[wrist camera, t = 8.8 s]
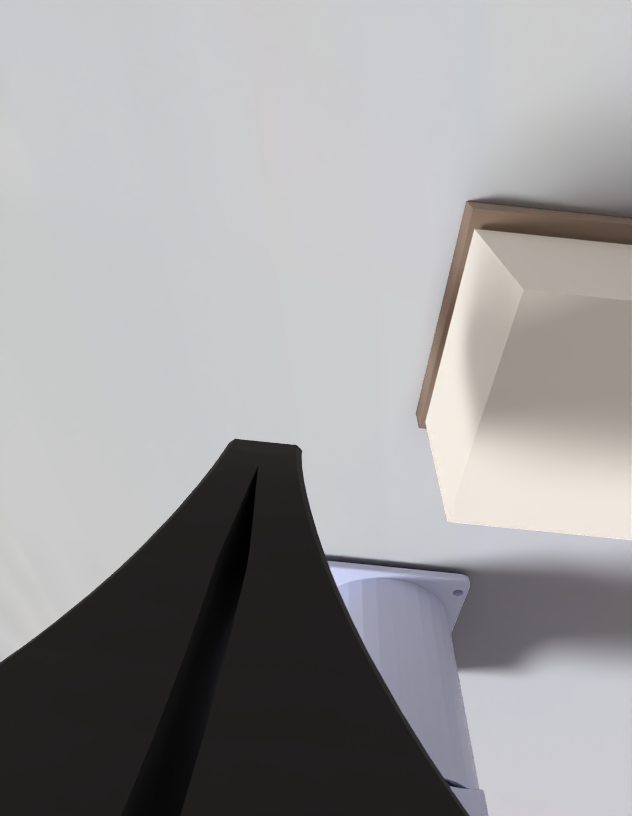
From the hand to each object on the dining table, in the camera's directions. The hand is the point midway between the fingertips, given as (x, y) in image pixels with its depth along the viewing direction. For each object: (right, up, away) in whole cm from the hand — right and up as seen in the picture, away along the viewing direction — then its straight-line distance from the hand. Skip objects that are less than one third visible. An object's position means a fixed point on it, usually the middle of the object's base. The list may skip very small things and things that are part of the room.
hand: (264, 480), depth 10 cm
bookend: (+9, +3, +7) cm, 12 cm away
